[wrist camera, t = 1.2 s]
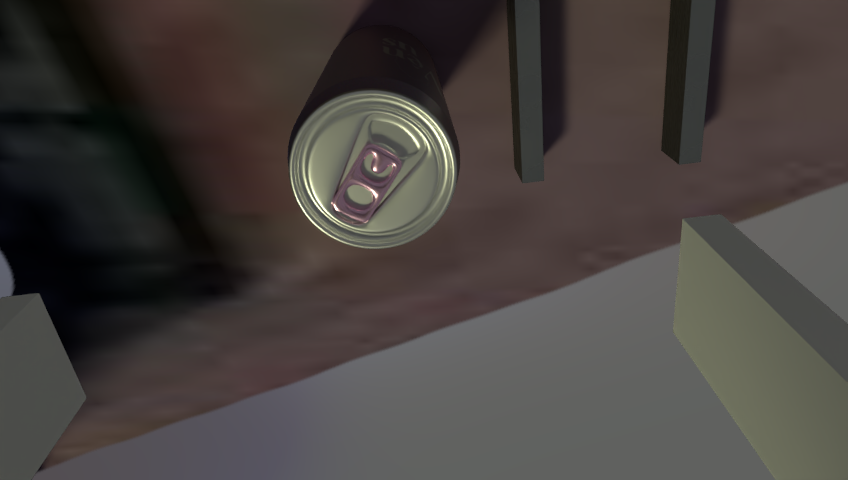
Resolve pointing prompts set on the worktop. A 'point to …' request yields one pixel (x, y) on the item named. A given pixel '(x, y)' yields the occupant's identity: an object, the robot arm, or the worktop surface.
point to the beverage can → (375, 143)
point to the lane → (681, 91)
